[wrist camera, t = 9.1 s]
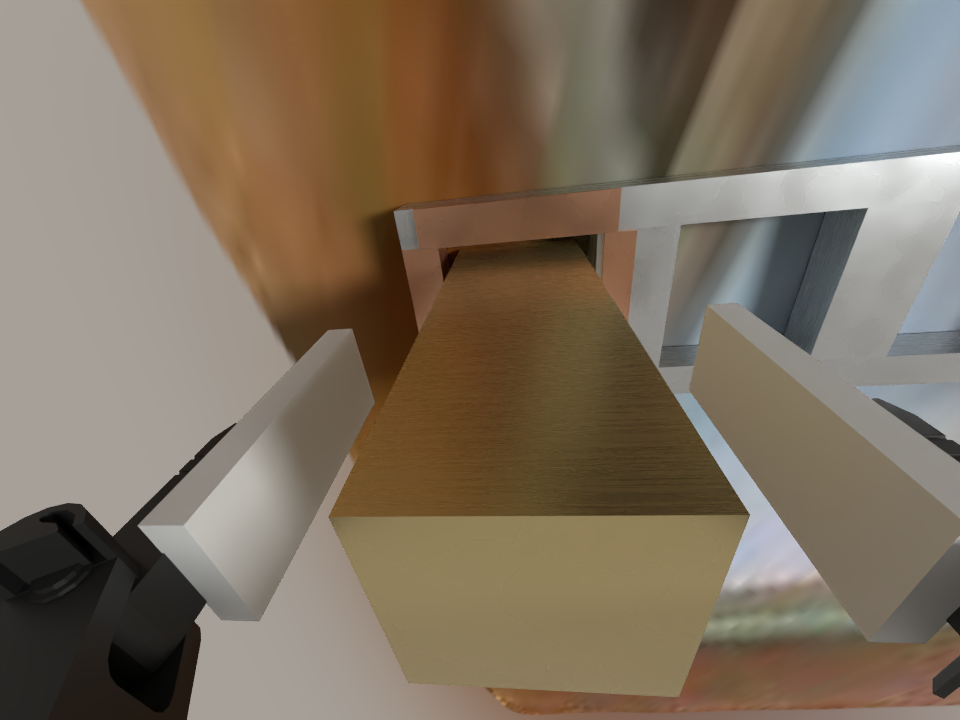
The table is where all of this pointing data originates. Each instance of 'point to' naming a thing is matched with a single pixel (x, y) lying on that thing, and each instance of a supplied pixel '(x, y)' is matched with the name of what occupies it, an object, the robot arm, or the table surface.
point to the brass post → (537, 492)
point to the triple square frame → (733, 196)
